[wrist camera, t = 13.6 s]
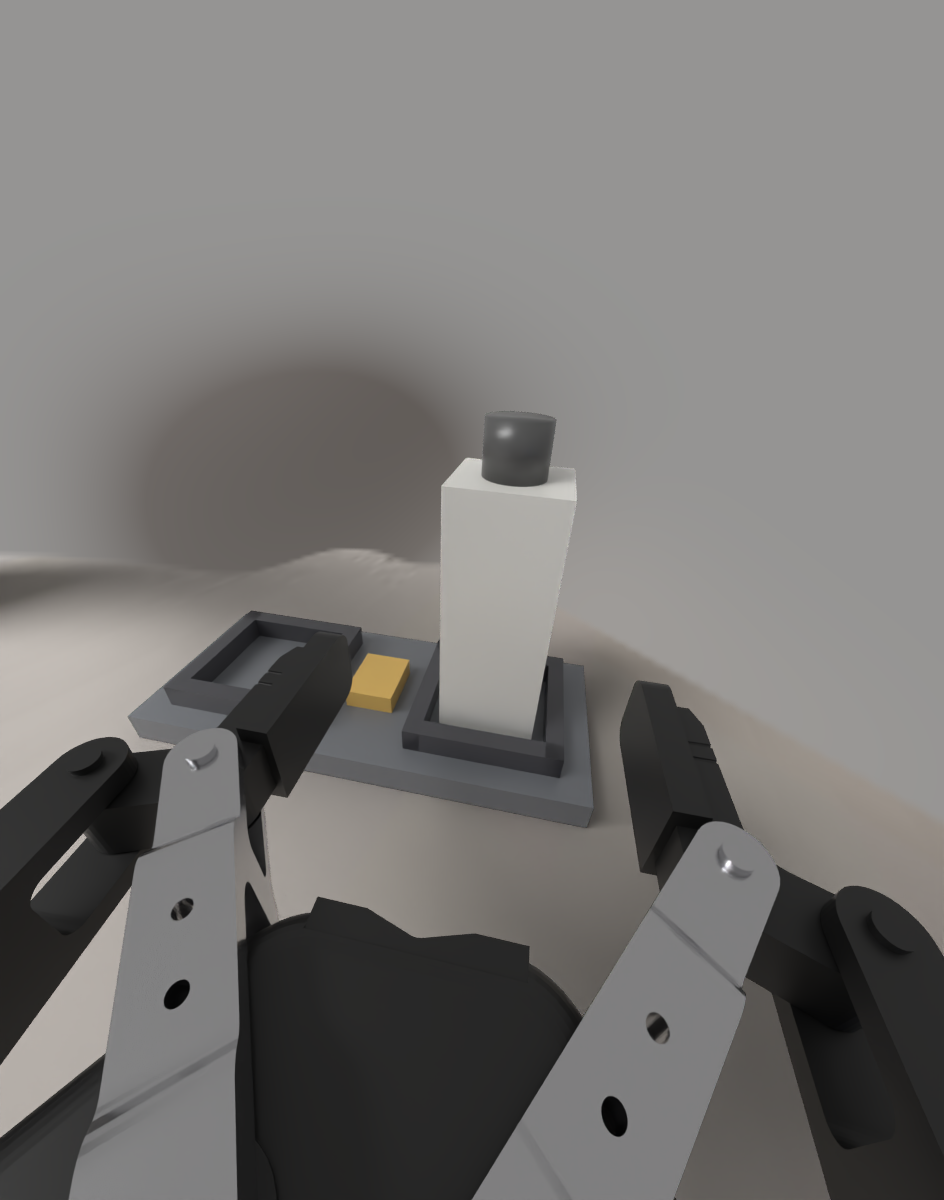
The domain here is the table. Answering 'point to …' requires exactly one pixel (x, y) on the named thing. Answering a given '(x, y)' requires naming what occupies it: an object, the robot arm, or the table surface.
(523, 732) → the plug
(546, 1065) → the robot arm
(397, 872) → the table surface
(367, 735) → the power strip
